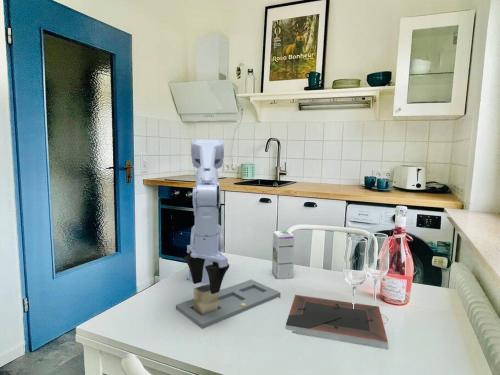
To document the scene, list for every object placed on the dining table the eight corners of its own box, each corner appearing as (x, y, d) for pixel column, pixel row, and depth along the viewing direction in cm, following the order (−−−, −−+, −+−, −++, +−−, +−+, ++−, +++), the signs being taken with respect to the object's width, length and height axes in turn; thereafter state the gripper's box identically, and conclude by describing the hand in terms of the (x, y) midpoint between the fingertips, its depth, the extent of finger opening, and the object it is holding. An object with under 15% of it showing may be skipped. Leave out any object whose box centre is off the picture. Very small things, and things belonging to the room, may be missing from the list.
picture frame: (285, 334, 74) (387, 352, 68) (285, 324, 73) (388, 341, 68) (294, 302, 89) (378, 314, 84) (295, 293, 89) (378, 305, 84)
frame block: (193, 311, 81) (193, 287, 80) (208, 305, 84) (208, 283, 83) (202, 317, 78) (202, 293, 77) (217, 311, 81) (218, 288, 80)
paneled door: (175, 311, 82) (175, 303, 82) (251, 284, 99) (251, 278, 99) (202, 331, 73) (202, 323, 73) (280, 298, 90) (280, 291, 90)
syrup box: (293, 278, 105) (295, 234, 103) (276, 279, 104) (277, 235, 102) (287, 271, 111) (289, 230, 109) (271, 272, 109) (272, 230, 108)
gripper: (176, 230, 81) (176, 282, 83) (210, 243, 70) (209, 302, 72) (200, 226, 86) (199, 275, 87) (235, 237, 75) (234, 293, 77)
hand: (205, 287), depth 80 cm, fingers open, 7 cm apart
